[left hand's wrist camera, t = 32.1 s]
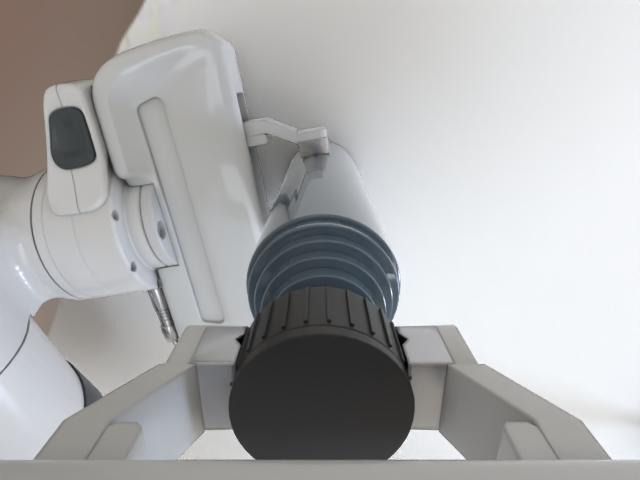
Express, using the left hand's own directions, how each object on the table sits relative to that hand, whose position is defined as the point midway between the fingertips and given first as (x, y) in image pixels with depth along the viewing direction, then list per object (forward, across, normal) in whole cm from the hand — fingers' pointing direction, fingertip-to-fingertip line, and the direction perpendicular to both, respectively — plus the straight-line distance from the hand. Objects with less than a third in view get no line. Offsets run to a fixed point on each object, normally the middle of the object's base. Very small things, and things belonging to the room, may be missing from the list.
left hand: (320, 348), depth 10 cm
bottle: (+22, 0, 0) cm, 22 cm away
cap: (-2, 0, 0) cm, 2 cm away
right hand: (+16, -1, 0) cm, 17 cm away
